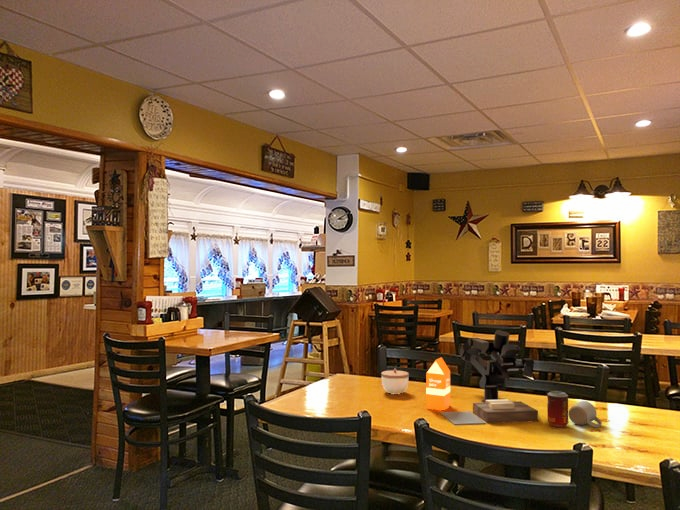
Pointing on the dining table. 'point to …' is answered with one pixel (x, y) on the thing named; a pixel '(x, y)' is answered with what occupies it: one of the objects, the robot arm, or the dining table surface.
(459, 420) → the rubber mat
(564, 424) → the soda can
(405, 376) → the lidded bowl
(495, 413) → the walnut stand
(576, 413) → the ceramic mug
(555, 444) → the dining table surface
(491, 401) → the number block
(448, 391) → the orange juice
